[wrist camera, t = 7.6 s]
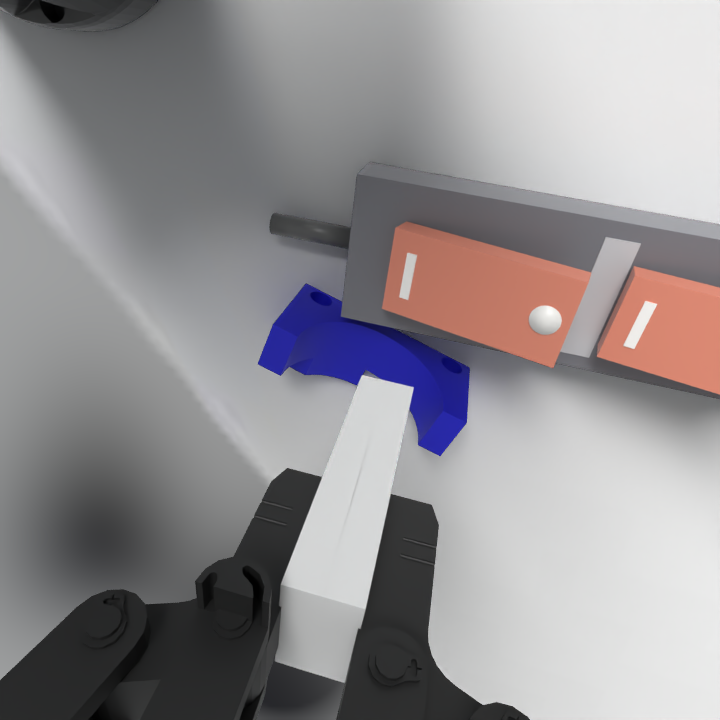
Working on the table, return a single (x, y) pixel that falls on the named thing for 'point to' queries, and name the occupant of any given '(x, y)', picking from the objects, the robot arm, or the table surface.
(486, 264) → the rocker
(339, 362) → the cable clip
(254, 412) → the table surface
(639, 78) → the table surface
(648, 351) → the rocker
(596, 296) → the power strip
